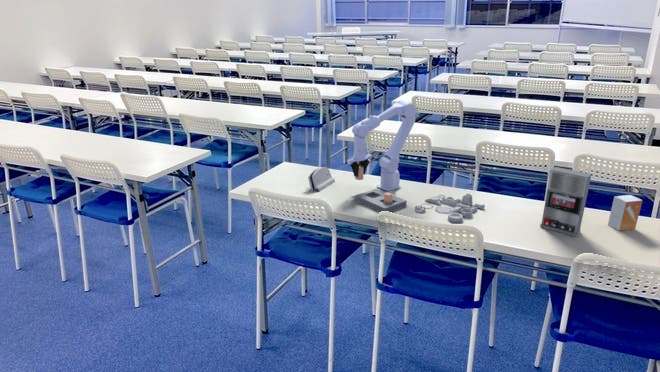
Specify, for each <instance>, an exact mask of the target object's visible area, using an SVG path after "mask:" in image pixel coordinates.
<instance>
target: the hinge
mask: <svg viewBox="0 0 660 372" xmlns="http://www.w3.org/2000/svg"><path fill="white" fill-rule="evenodd" d="M307 179H308V182H309V183H308V184H309V187H310V190H311V191H314V190H318V192H322V191H323V190H324V189H326V188H328V187H329V186H331V185H332V184H334V183H336V180H335V178H334V177H333V176H332V174H331V172H330V169H329V168H328V167H324V166H323V167H319V168H316V169H314V170H312V171H311V173H310V174H309V175H308V178H307Z"/></svg>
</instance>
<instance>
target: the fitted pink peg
mask: <svg viewBox="0 0 660 372" xmlns="http://www.w3.org/2000/svg"><path fill="white" fill-rule="evenodd" d="M393 195H394V194H393V192H386V193H384V203H385V204H388V205H389V204H392V201H393Z"/></svg>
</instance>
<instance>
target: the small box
mask: <svg viewBox="0 0 660 372" xmlns="http://www.w3.org/2000/svg"><path fill="white" fill-rule="evenodd" d="M613 197H614V198H613V201H612V206H611V209H610V214H609V219H608V223H607V225H608V226H609V227H611V228H612V229H614V228H615V229H614V230H617V231H619V232H620V231H621V232H622V231H628V230H630V229H631V230H635V229H636V228H637V227H636V226H637V223H638V219H639V216H640V211H641V208H642V203H643V200H642V199H640V198H639V197H636V196H634V195H633V194H625V195H617V196H613Z"/></svg>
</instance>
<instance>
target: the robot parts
mask: <svg viewBox="0 0 660 372" xmlns="http://www.w3.org/2000/svg"><path fill="white" fill-rule="evenodd" d="M424 201H425V202H426V203H421V204H420V205H416V206H415V207H414V211H415V212H416V213H421V214H422V213H425V212H426V210H429V209H433V208H434V205H433V204H435V205H437V206H436V207H435V208H434V211H435V212H436V213H439V214H444V215H446V214H447V219H448V221H450V222H453V223H461V222H462V221H463V218H472V216H473V213H475V212H477V211H478V209H479V208H480V210H484V209H485V207H486V206H485V204H479V203H474V204H473V195H472V194H471V193H467V194H464V195H463V196H462V197H461V199H460V198H455V199H454V198H453V197H451V196H447V197H446V195H443V194H439V195H437V196H432V197H430V198H426V199H424ZM428 202H429V203H428ZM431 203H432V204H431ZM442 204H444V205H447V206H443V205H442ZM423 205H430V206H431V207H425V206H423ZM472 205H473V206H472ZM449 206H456V207H454V208H451V207H449ZM471 206H472V207H471ZM483 208H484V209H483Z"/></svg>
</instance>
